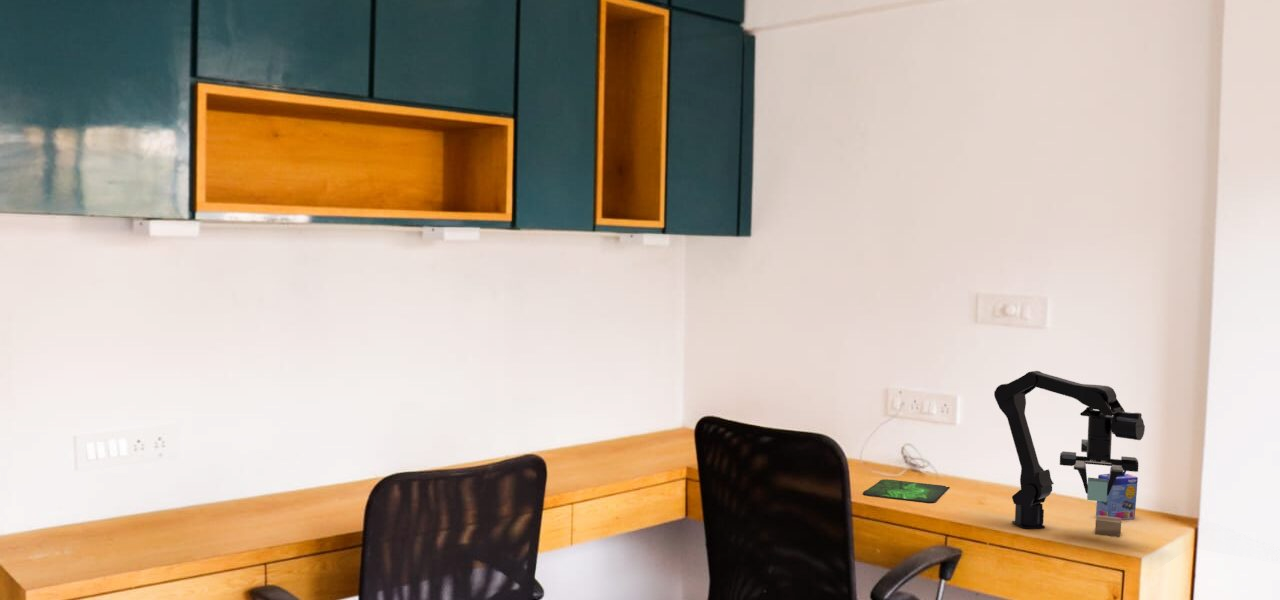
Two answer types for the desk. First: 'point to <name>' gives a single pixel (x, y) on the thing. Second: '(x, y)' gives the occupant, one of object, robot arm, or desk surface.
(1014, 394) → the robot arm
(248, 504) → the desk surface
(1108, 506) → the ink cartridge box
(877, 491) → the mouse mat
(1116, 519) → the walnut block
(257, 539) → the desk surface
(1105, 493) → the teal block
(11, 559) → the desk surface
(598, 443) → the desk surface
